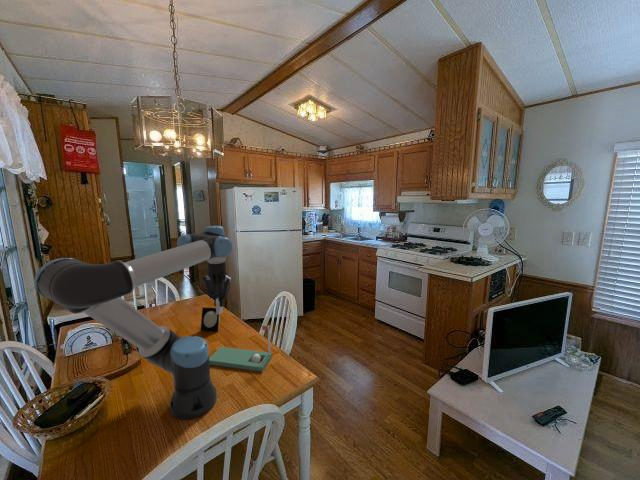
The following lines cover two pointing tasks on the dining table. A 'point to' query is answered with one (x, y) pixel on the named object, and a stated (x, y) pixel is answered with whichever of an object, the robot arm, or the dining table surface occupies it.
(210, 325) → the decorative object
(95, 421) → the dining table surface
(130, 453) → the dining table surface
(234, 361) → the putting board
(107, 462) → the dining table surface
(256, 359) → the ball
